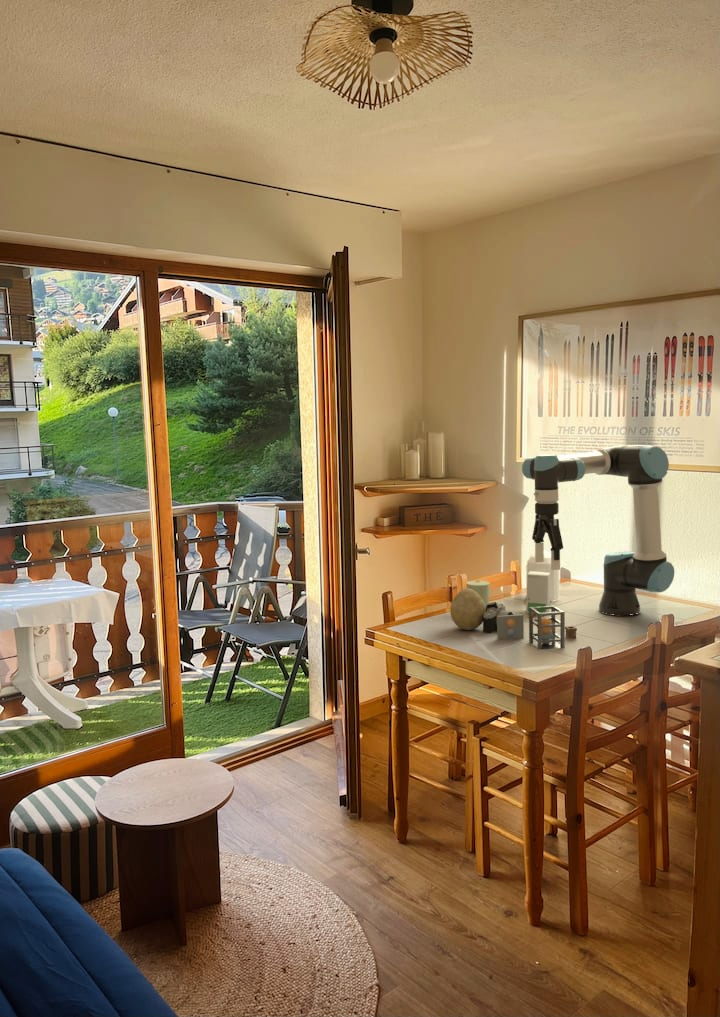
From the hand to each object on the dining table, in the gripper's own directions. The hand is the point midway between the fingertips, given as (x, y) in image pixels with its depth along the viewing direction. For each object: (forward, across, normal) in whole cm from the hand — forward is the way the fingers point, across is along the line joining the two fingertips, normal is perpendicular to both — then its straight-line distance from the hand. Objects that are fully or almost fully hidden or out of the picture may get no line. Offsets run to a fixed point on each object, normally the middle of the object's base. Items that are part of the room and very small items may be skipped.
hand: (547, 565), depth 258 cm
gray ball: (+26, +2, -2) cm, 26 cm away
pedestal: (+27, -3, +10) cm, 29 cm away
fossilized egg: (+27, -25, -20) cm, 42 cm away
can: (+27, -49, -9) cm, 57 cm away
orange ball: (+20, +1, -2) cm, 20 cm away
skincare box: (+28, -41, +13) cm, 51 cm away
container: (+28, -62, +23) cm, 72 cm away
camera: (+27, -20, -10) cm, 36 cm away
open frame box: (+27, +2, -2) cm, 27 cm away
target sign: (+27, -8, -10) cm, 30 cm away
